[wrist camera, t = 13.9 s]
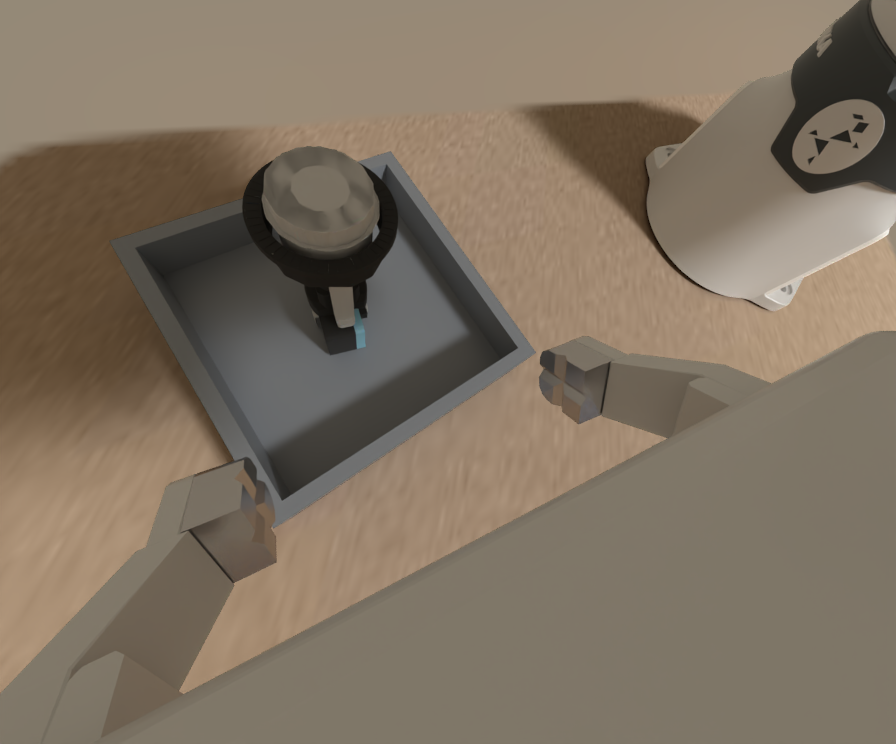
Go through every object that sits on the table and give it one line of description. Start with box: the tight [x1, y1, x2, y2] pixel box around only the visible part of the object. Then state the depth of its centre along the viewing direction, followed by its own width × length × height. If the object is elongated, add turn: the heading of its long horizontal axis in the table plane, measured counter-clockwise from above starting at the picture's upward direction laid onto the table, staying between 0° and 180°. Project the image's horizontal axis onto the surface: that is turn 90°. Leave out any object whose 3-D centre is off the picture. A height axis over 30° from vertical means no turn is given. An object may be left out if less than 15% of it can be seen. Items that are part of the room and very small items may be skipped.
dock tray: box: [109, 151, 536, 528], centre depth 20 cm, size 16×16×4 cm
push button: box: [242, 146, 398, 355], centre depth 16 cm, size 7×5×10 cm
